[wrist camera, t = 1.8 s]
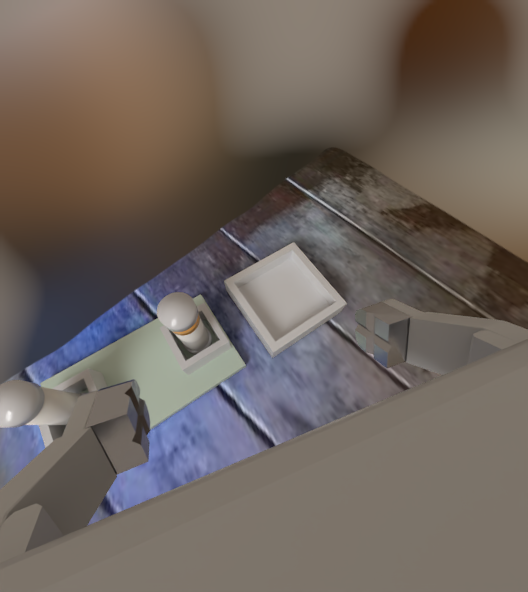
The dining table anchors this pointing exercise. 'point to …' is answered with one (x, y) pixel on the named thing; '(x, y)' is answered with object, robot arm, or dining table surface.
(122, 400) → the robot arm
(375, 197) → the dining table surface
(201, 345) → the orange-banded cylinder plug
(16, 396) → the peg
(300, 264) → the parts tray
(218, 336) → the fuse board
